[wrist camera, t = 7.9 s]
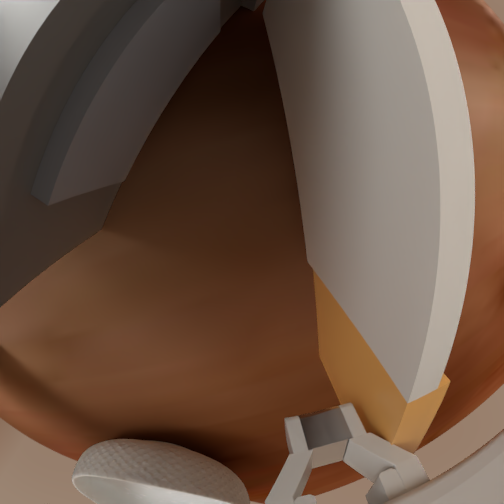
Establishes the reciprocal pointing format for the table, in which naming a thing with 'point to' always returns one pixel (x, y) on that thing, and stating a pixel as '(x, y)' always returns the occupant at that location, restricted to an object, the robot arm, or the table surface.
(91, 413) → the table surface
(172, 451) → the cereal bowl
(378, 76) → the side door
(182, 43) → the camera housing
